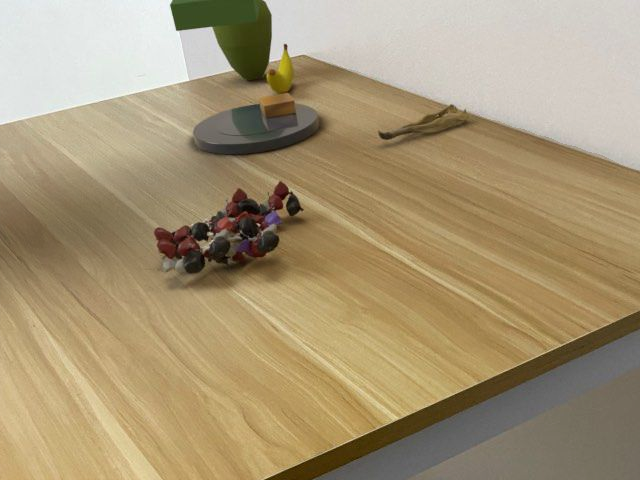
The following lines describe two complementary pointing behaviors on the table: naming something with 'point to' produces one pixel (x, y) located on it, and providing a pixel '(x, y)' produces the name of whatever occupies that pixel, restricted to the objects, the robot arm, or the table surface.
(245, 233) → the dark lumpy cluster
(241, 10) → the sponge brush
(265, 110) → the orange flat block
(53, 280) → the table surface
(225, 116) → the plate
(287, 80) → the fruit
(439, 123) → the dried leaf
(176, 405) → the table surface
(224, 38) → the green mango
